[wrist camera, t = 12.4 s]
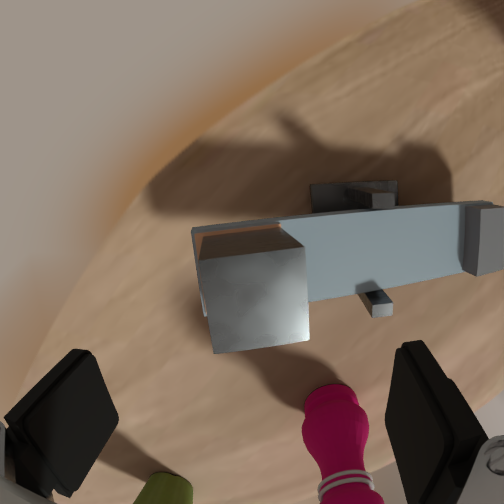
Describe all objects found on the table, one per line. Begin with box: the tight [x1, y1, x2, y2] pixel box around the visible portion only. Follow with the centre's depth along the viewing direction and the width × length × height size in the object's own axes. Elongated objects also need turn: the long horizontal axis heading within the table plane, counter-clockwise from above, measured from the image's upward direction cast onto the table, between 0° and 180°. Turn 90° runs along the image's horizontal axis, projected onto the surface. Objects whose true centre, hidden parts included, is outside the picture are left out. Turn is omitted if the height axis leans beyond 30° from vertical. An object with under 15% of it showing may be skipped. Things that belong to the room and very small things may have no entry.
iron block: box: [198, 227, 309, 354], centre depth 18 cm, size 5×5×6 cm
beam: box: [191, 200, 504, 316], centre depth 22 cm, size 26×6×4 cm, turn 96°
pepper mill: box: [302, 384, 384, 504], centre depth 24 cm, size 7×7×20 cm
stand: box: [310, 180, 398, 318], centre depth 25 cm, size 8×10×8 cm
